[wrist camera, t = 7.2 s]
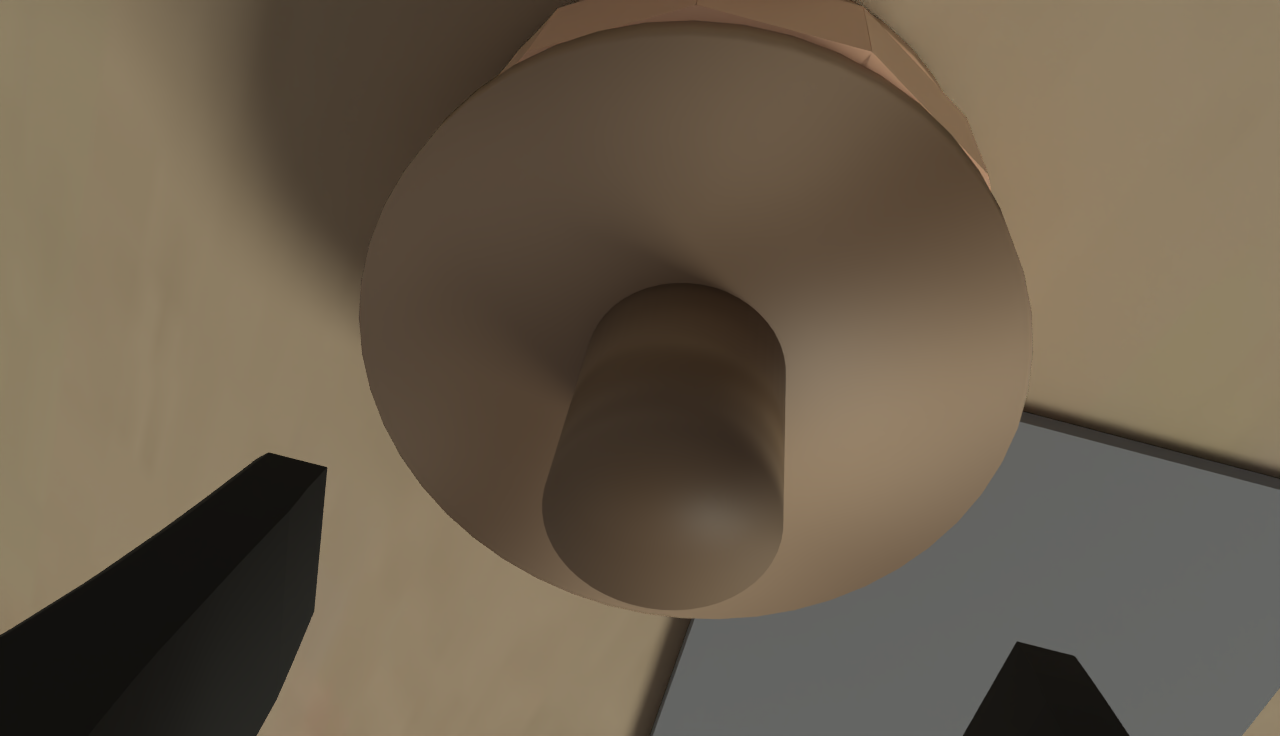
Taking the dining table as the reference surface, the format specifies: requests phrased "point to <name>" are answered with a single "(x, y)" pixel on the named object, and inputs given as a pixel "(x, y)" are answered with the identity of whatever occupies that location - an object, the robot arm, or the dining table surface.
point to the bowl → (785, 3)
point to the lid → (697, 321)
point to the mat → (1025, 606)
